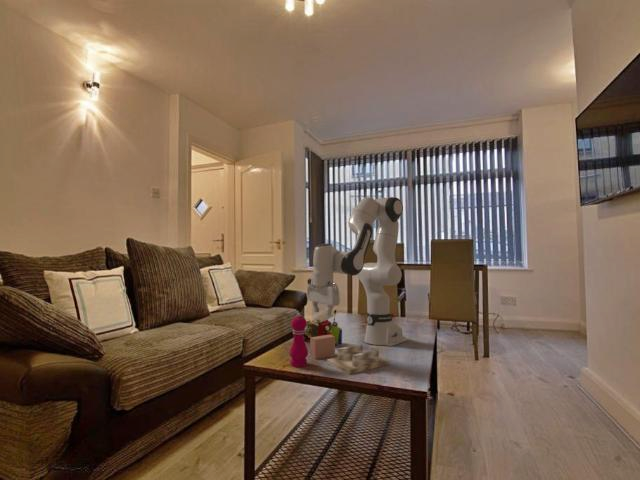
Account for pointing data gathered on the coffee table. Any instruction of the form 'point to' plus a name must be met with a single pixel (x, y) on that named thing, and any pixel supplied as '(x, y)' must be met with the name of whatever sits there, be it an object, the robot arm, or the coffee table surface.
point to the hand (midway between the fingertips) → (322, 313)
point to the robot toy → (324, 329)
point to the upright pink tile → (322, 346)
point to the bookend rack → (356, 359)
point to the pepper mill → (298, 342)
